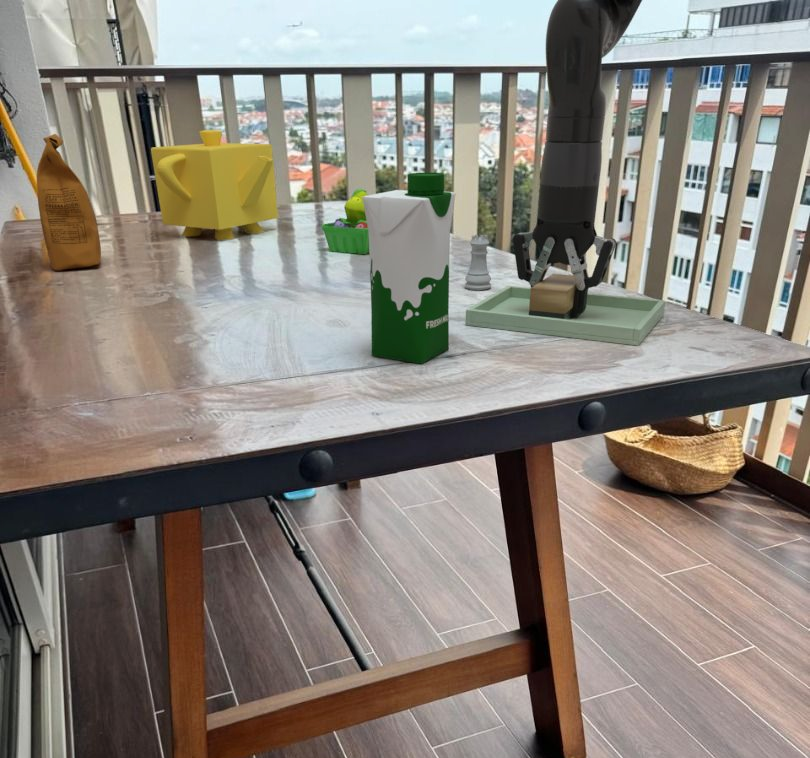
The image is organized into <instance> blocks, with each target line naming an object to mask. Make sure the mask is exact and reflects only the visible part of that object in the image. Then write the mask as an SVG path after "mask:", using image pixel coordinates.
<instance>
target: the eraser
mask: <svg viewBox="0 0 810 758" xmlns="http://www.w3.org/2000/svg"><path fill="white" fill-rule="evenodd" d="M530 288H531V291H530V305H529V315H531V316H540V317H549V318H558V319H567V320H571V319H572V318H573V317H572V311H573V302H574V292H575V290H576V289H577V287H576V283H575V279H574V275H573V274H562V273H551V274H549V276H547V277H545V278H544V279H543V280H542V281H541V282H539V283H538V284H536V285H534V286H533V287H531V286H530Z"/></svg>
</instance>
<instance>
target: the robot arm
mask: <svg viewBox="0 0 810 758" xmlns="http://www.w3.org/2000/svg"><path fill="white" fill-rule="evenodd" d="M642 2H643V0H557V1H556V3H555V4H554V5H553V8H552V9H551V11H550V14H549V17H548V22H547V25H546V32H545V68H546V81H547V83H546V84H547V91H548V107H547V108H548V109H547V118H546V119H547V120H546V131H545V142H544V148H543V152H542V157H541V167H540V172H539V191H538V193H539V194H538V203H537V214H536V215H537V216H536V225H535V227H534V228H533V230H532V231H529V232H524V231H521V232H519V233H518V232H517V233H516V234H515V235H513V237H512V244H513V250H514V257H515V265H516V271H517V278H518V279H519V280H521V281H525V282H527V283H528V284H529V285H530V288H531V287H533V286H534V285H536V284H538V283H539V282H541V281H542V280H544V279H545V278H546V276H547V275H546V274H547V272H548V271H549V269H550V267H551V265H552V264H553V265H555V264H559V263H560V264H563V265H566V266H570V271H571V275H574V279H575V283H576V287H577V289H576V290H575V292H574V302H573V311H572V317H574V318H578V317H579V316H580V314H582V313H583V312H584V311H585V309H586V303H587V294H588V293H589V289H590V288H596V287H598V286H599V285H600V284H601V283H603V282H604V279H605V276H606V273H607V271H608V267H609V265H610V262H611V260H612V257H613V254H614V251H615V248H616V246H617V240H616V239H615V238H613V237H612V238H609V239H608V238H605V237H602V236H599V235H598V234H597V231H596V228H595V221H596V216H597V215H596V214H597V205H598V197H599V189H600V188H599V187H600V180H601V170H602V163H603V154H602V152H603V150H602V146H603V142H602V141H603V135H604V128H605V119H606V110H607V98H606V93H605V92H604V90H603V88H602V83H601V79H602V65H603V64H602V62H603V58H605V57H606V56H607V55H609V54H610V52H611V51H612V50H613V49H614V48H615V47H616V46H617V44H618V43H619V41H620V40H621V39H622V38H623V35H624V34H625V33H626V31H627V29H628V28H629V26H630V25H631V22H632V20H633V18H634V17H635V15H636V13H637V12H638V9H639V8H640V5H641V4H642ZM533 241H534V243H535V245H536V246H537V249H538V250H539V252H540V254H539V257H538V258H537V261H536V263H535V266H534V270H532V263H531V255H530V248H531V247H532V246H533ZM593 245H594V246H595V254H596V255H597V256H598V257H597V260H596V263H595V265H594V269H593V272H592V274H591V276H589V272H588V262H587V258H586V253H587V252H588V251H589V249H591V248H592V247H593ZM529 305H530V304H529Z"/></svg>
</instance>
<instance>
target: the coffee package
mask: <svg viewBox="0 0 810 758" xmlns="http://www.w3.org/2000/svg"><path fill="white" fill-rule="evenodd" d="M42 139H43V141H44V143H45V147H44V149H43V150H42V154H41V157H40V159H39V162H38V165H37V170H36V185H37V186H36V187H37V204H38V205H37V206H38V212H39V218H40V224H41V229H42V234H43V238H44V243H45V247H46V251H47V256H48V260H49V262H50V263H49V264H50V265H51V267H52V269H53V270H54V271H59V272H61V271H66V270H74V269H75V270H77V269H83V268H84V269H85V268H89V267H93V266H97V265H100V263H101V259H102V248H101V247H102V245H101V239H100V234H99V228H98V227H99V226H98V222H97V217H96V214H95V211H94V208H93V205H92V202H91V199H90V197H89V194H88V191H87V189H86V188H85V186H84V184H83V183H82V182H81V180H80V178H79V177H78V176H77V174H76V173H75V172H74V170H73V169H72V168H71V167H70V166H69V165H68V164H67V162H66V161H65V160H64V159H63V157H62V155H61V153H60V152H59V151H58V150H57V149H58V148H60V146H62V145H63V143H64V141H63V139H62V138H61V137H60V136H59V135H57V133H54V134H51V135H48V136H47V137H42Z"/></svg>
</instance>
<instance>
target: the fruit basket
mask: <svg viewBox="0 0 810 758" xmlns="http://www.w3.org/2000/svg"><path fill="white" fill-rule="evenodd" d="M368 195H369V194H368V193H367V190H366V189H360V188H357V189H355V191H354V192H353V193H352V195H351V196H350V198H349V199H348V200H347V201H346V202H345V204H344V206H343V208H344V212H345V216H346V218H343V217H339V218H336V219H335V221H334V222H327V223H323V224H320V227H321V229H322V231H323V233H324V234H323V235H324V237H325V240H326V243H327V246H328V249H329V252H337V253H348V254H359V255H367V254H370V252H369V232H368V225H367V220H366V214H365V209H364V203H363V198H362V197H363V196H368Z"/></svg>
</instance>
